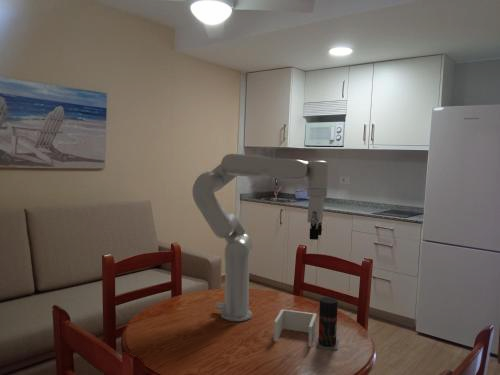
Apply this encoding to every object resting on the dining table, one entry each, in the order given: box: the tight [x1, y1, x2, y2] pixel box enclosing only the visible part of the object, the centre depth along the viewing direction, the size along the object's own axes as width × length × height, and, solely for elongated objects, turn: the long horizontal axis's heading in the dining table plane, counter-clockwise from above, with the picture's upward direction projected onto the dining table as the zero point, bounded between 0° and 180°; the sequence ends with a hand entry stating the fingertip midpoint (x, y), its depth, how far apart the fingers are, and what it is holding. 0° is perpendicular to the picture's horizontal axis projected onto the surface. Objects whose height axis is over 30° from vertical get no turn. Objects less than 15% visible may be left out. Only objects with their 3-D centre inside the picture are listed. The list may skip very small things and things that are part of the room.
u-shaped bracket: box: [273, 308, 317, 348], centre depth 139 cm, size 13×12×7 cm
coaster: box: [315, 337, 340, 351], centre depth 134 cm, size 7×7×1 cm
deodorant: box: [317, 296, 339, 347], centre depth 133 cm, size 6×6×15 cm
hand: (315, 237), depth 151 cm, fingers open, 9 cm apart
